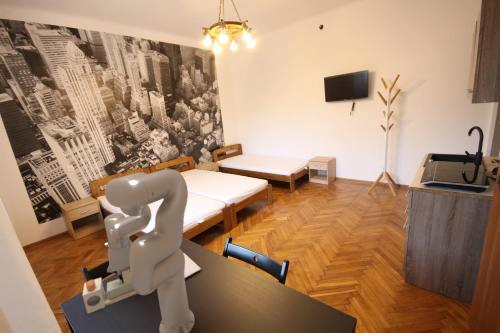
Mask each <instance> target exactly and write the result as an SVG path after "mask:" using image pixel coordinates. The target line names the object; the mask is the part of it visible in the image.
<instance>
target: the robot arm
mask: <svg viewBox="0 0 500 333" xmlns="http://www.w3.org/2000/svg"><path fill="white" fill-rule="evenodd" d="M104 196H105V198H106V201H107V202H108V204H110V205H111V206H113V207H116V208H119V210H120V211H121V212H117V213H116V212H115V213H112V214H111V213H110V214H109V215H107V216H106V217H105V218H104V220H103V222H104V228H105V231H106V237H107V242H105V243H104V247H108V249H107V256H108V262H109V264H108V267H107V270H106V272H107V273H112V274H115V275H117V276H118V279H120V280H122V283H123V282H124V281H123V276H122V270H121V269H124V268H127V267H130V276H131V282H132V286H133V288H134V290H135V291H136V292H137V295H140V296H147V295H149V294H151V293H153V292H155V291H156V290H157V291H156V292H157V298H158V304H159V309H160V310H159V311H160V316H161V320H160V324H159V329H158V330H159V333H191V331H192V329H193V328H194V326H195V315H194V312H193V311H192V310H191V309H190V308H189V301H188V294H187V287H186V286H187V284H186V278H185V276H184V270H185V257H184V254H183V253H184V251H183V250H182V249H181V248H180V247H181V245H182V243H183V242H182V241H183V234H184V224H185V223H184V222H185V221H184V219H185V213H186V212H185V211H186V207H187V204H188V196H189V190H188V186H187V182H186V179H185V178H184V176H183V175H182V174H181V172H180V171H178V170H177V169H169V168H168V169H162V170H158V171H153V172H150V173H147V172H134V173H130V174H127V175H124V176H120V177H117V178H113V179H111V180H109V181H108V182H107V183H106V186H105V188H104ZM161 200H162V201H161ZM158 201H161V203H160V205H159V207H158V208H157V210H156V214H155V217H154V218H155V219H154V228H153V229H152V230H150V231H149V232H147V233H145V234H143V235H141V236H140V237H139V236H138V238H136V239H135V240H134V241H132V240H131V239H130V237H131V236H134V235H136V234H137V233H139V232H141V231H143V230H145V229H146V228H148V226H149V224H150V222H151V220H152V210H151V208H150V206H149V205H150V204H153V203H156V202H158Z"/></svg>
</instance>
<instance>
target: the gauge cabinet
mask: <svg viewBox="0 0 500 333" xmlns="http://www.w3.org/2000/svg"><path fill="white" fill-rule="evenodd" d="M93 280H94V281H95V285H96V288H95V289H94V290H92V291H87V288H86V282H84V284H83V288H82V289H83V290H82V299H83V303H84V306H85V309H86V313H87V315H88V314H91V313H94V312H97V311H99V310H101V309H105V308H106V306H105V305H104V300H105V293H106V292H105V288H104V284H103V279H102V277H99V278H95V279H93Z"/></svg>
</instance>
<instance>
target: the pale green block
mask: <svg viewBox="0 0 500 333" xmlns="http://www.w3.org/2000/svg"><path fill="white" fill-rule="evenodd" d="M134 295H138V293H137V292H136V291H135V290H132V291H129V292H127V293H124V294H121V295H119V296H116V297H114V298H111V299H109V297H108V295H107V291H106V292H105V300H104V305H105V307H107V306H110V305H112V304H115V303H117V302H120V301H122V300H125V299H127V298H130V297H132V296H134Z"/></svg>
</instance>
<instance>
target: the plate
mask: <svg viewBox="0 0 500 333" xmlns="http://www.w3.org/2000/svg"><path fill="white" fill-rule="evenodd" d="M183 254H184V257H185V270H184V276H185V279H186V278H188V277H190V276H191V275H192V276H193V275H194V274H195V273H198V272H199V271H201V269H202V268H201V267H200V266H199V265H198V264H197V263H196V262H195V261H194V260H192V259H191V258H190V257H189V256H188V255H187V254H186V253H185V252H183Z"/></svg>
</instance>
